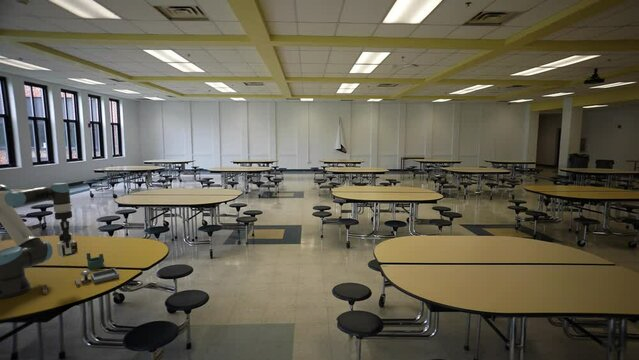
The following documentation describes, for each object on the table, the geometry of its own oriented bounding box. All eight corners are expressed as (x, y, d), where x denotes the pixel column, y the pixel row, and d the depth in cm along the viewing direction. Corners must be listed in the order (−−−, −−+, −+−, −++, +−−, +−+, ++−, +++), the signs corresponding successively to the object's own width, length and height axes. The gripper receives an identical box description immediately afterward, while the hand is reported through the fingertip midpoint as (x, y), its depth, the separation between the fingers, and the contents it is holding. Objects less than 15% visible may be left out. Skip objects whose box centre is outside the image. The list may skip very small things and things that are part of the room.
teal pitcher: (104, 267, 216) (103, 254, 215) (86, 270, 211) (85, 256, 210) (104, 263, 223) (103, 250, 222) (87, 265, 219) (86, 252, 218)
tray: (94, 283, 192) (94, 279, 191) (91, 277, 201) (91, 273, 200) (119, 278, 200) (118, 274, 199) (114, 271, 209) (114, 268, 208)
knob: (82, 282, 193) (81, 273, 193) (80, 280, 197) (80, 271, 196) (91, 280, 196) (90, 271, 196) (90, 278, 200) (89, 269, 199)
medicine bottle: (63, 257, 182) (60, 236, 181) (58, 255, 186) (55, 234, 185) (78, 253, 188) (75, 232, 187) (73, 251, 192) (70, 231, 191)
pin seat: (43, 294, 178) (43, 292, 178) (42, 288, 186) (42, 285, 186) (80, 285, 189) (80, 283, 189) (78, 280, 196) (78, 277, 196)
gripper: (72, 213, 178) (77, 254, 181) (70, 207, 195) (75, 245, 197) (54, 215, 174) (60, 258, 176) (54, 209, 190) (59, 248, 193)
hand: (68, 251), depth 187 cm, fingers closed on medicine bottle, 8 cm apart
